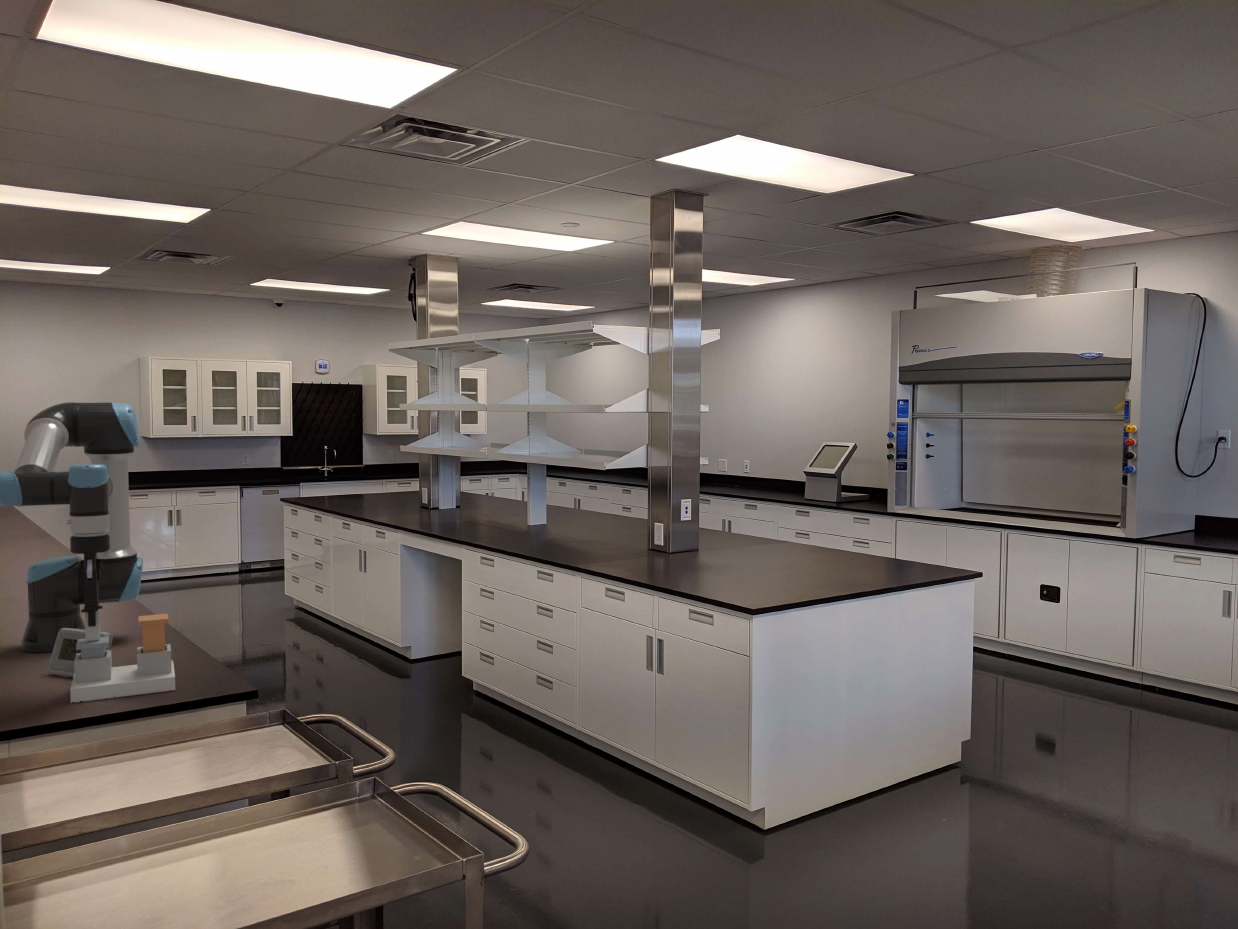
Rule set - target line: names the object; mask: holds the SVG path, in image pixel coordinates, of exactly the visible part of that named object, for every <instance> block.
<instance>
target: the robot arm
mask: <svg viewBox="0 0 1238 929" xmlns="http://www.w3.org/2000/svg"><path fill="white" fill-rule="evenodd" d="M23 435H24V441H25V442H24V444H23V445H24V446H23V447H22V451H21V452H20V455H19V457H18V461H17V463H16V466H15V468H14V470H13V471H9V472H2V473H0V505H1V506H3V507H19V508H20V507H28V506H29V507H32V506H33V507H34V506H51V505H52V506H54V505H56V506H59V505H60V506H61V505H62V506H63V505H69V519H67V520H66V524H67V525H70V526H69V532H70V534H72V536H70V537H69V543H70V544H69V545H70V546H69V548H70V549H69V550H70V552H71V553H72V554H74V555H66V556H65V555H64V556H58V557H52V558H47V559H43V560H40V561H37V562H35V563H32V564H31V565H30V566H29V567H28V569H27V580H26V584H27V599H28V600H27V602H28V606H27V607H28V620H27V624H26V626H25V629H24V634H23V636H22V638H21V650H22V651H23V652H27V653H51V652H53V649H54V645H55V642H56V638H57V635H58V632H59V631H60V630H61V629H62V628H71V629H75V628H77V629H85V641H95V640H100V631H101V629H100V628H101V627H100V626H101V625H100V621H101V620H100V610H103V605H100V604H107V603H110V604H111V603H118V604H119V603H122V602H132V601H135V600H136V599H137V598H138V596H139V595H140V588H141V582H142V581H141V580H142V575H143V574H142V572H143V567H144V566H143V565H144V564H143V563H144V559H143V557H141V556H139V557H138V551H137V550H136V549H135V548H134V547H132V545H131V524H130V523H131V522H130V494H129V493H130V492H129V491H130V490H129V489H130V488H129V487H130V486H129V462H128V461H129V459H130V457H132V455H134V453H135V448H137V447H138V446H139V447H140V444H141V443H140V442H141V441H140V440H141V439H140V431H139V426H138V421H137V416H136V411H135V409H134V407H133V406H132V405H131V404H129V403H124V402H113V401H112V402H73V401H72V402H62V403H58V404H55V405H52V406H49V407H47V408H46V409H43V410H42V411H40V412H39V413H37V414H36V415H34V416H33V417H32V418H31V419H30V420H29V421H28V423H27V425H26V427H25V429H24V434H23ZM67 447H75V448H77V447H78V448H80V447H82V448H83V449H84V450H83V452H84V455H85V456H86V457H88V458H89V460H90V463H85V464H84V463H81V464H72V465H70V466H69V469H68V471H55V469H56V466H57V463H58V460H59V456H60V453H61V450H63V449H64V448H67ZM75 554H78V555H80V554H83V559H80V557H79V556H78V555H75ZM81 605H82V606H83V605H84V607H83V608H82V609H81ZM81 613H84V620H83V617H82V615H81Z"/></svg>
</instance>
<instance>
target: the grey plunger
mask: <svg viewBox="0 0 1238 929" xmlns="http://www.w3.org/2000/svg"><path fill="white" fill-rule="evenodd" d="M108 644H109V636H107V637H100V640H95V641H85V639H78V641H77V644H76V650H80V649H81V659H90V658H99V657H105V647H108Z"/></svg>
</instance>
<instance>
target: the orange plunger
mask: <svg viewBox="0 0 1238 929" xmlns="http://www.w3.org/2000/svg"><path fill="white" fill-rule="evenodd" d="M137 617H138V620H137V621H138V625H137V626H138V627H142V647H143V653H147V652H156V651H165V644H166V642H165V641H166V634H165V633H166V632H165V628H166V627H165V624H169V614H168V613H159V614H149V615H148V614H147V615H138V616H137Z"/></svg>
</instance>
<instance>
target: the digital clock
mask: <svg viewBox="0 0 1238 929" xmlns="http://www.w3.org/2000/svg"><path fill="white" fill-rule="evenodd" d="M107 636H109V644H108V647H105V651H107V650H111V648H112V643H113V640H114V635H113V634H112V633H110V632H108V631H101V630H100V637H107ZM78 639H85V629H77V628H75V629H71V628H62V629H61V630H60V631H59V632H58V635H57V638H56V642H55V645H54V649H53V652H52V653H51V656H50V660H49V662H48V666H47V672H48V674H50V675H53V676H58V677H60V676H64V677H63V678H67V677H72V678H71V679H73V678H74V674H75V668H74V660H75V657H76V654H78V653H81V649H80V650H76V644H77V641H78Z"/></svg>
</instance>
